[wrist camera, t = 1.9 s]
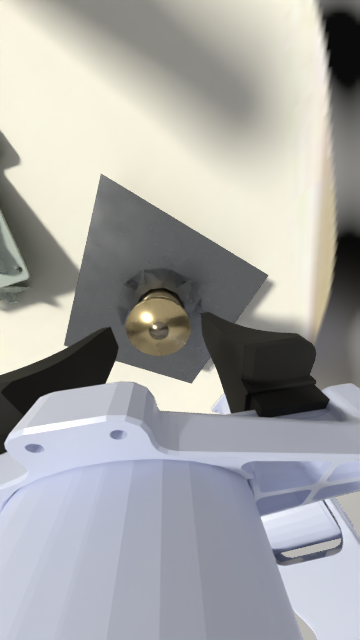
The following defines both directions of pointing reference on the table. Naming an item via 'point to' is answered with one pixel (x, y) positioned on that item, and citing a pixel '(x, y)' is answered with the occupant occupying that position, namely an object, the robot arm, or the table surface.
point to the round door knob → (158, 323)
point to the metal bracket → (10, 264)
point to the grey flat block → (154, 278)
